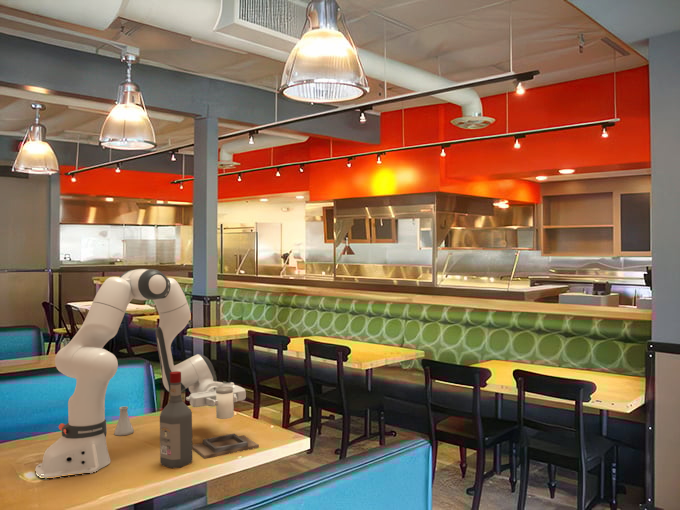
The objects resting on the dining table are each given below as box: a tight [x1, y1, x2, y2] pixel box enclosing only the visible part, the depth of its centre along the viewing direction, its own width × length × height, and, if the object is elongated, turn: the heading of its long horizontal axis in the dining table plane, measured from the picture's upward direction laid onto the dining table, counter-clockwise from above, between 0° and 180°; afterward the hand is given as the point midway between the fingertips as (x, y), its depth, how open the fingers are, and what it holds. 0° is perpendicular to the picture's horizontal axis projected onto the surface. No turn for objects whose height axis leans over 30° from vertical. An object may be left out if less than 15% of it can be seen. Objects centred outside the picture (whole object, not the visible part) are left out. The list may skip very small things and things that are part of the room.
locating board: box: [192, 433, 259, 460], centre depth 214 cm, size 20×13×2 cm, turn 123°
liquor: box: [159, 371, 193, 469], centre depth 199 cm, size 9×9×30 cm
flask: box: [113, 406, 135, 437], centre depth 231 cm, size 7×7×10 cm
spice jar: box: [215, 386, 235, 420], centre depth 213 cm, size 6×6×10 cm
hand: (225, 401), depth 213 cm, fingers closed on spice jar, 6 cm apart
